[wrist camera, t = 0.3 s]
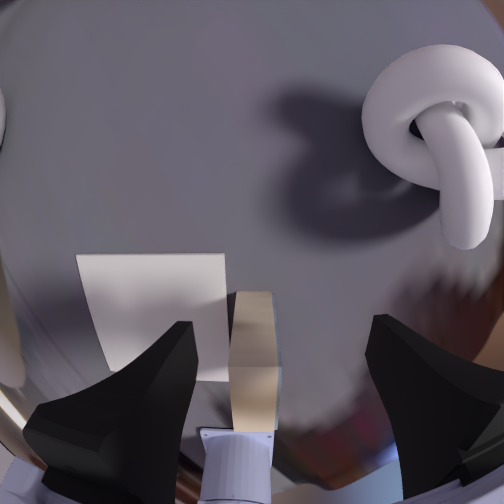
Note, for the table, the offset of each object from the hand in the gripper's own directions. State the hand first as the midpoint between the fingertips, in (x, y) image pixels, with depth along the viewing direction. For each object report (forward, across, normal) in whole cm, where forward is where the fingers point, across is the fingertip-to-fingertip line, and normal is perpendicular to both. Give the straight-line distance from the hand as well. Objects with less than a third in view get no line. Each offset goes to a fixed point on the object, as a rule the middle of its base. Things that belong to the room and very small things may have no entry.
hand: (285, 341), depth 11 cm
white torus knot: (+10, -12, -9) cm, 18 cm away
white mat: (+10, +9, +6) cm, 15 cm away
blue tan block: (+10, +1, +6) cm, 12 cm away
